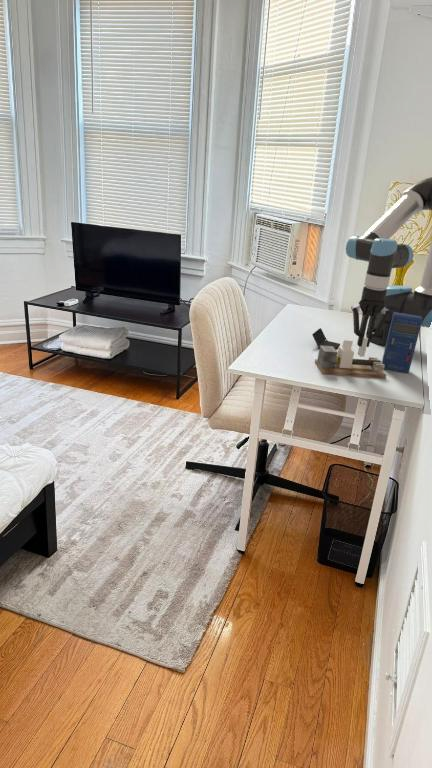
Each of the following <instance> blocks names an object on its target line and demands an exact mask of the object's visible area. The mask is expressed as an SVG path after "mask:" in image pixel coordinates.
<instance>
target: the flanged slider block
mask: <svg viewBox="0 0 432 768" xmlns="http://www.w3.org/2000/svg"><path fill="white" fill-rule="evenodd" d="M353 342H354V341H353V340H352V339H343V340H342V345H340V346H339V347H338V348H337V356H338V357H339V358H340V363H339V368H350V369H351V365H352V361H353V359H354V356H355V350H354V349H353V348H352V347H353Z"/></svg>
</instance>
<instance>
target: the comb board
mask: <svg viewBox="0 0 432 768" xmlns="http://www.w3.org/2000/svg"><path fill="white" fill-rule="evenodd" d="M337 353H338V350H337V349H336V350H335V349H334V347H333V346H320V348H319V349H318V355H317V358H316V359H314V364H315V365H316V366H317V368H318V370H319V371H320V373H322V375H331V376H332V375H333V376H348V377H362V378H375V379H376V378H377V379H386V378H387V374H386V373H385V369H384V366H385V365H384V364H383V363H382V360H380V359H379V358H378V357H374V356H373V357H372V356H368V359H362V358H360V359H359V358H353V361H352V365H351V369H350V368H339V363H340V358H339V357H338V356H337Z"/></svg>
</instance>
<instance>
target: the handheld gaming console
mask: <svg viewBox="0 0 432 768" xmlns="http://www.w3.org/2000/svg"><path fill="white" fill-rule="evenodd" d="M311 335H312V337H313V339H314V341H315V343H316V346H317V347H318V348H317V350H319V348H320V346H333V347H334V349H335V350H336V351H337V350H338V348H339V346H341V343H339V342H334V341H330V340H328V339H327V337H326V335H325V333H324V331H323V329H322V327H320V328H318V329H317V330H316V331H314V332H313V333H312V334H311Z"/></svg>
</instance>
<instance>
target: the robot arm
mask: <svg viewBox="0 0 432 768" xmlns="http://www.w3.org/2000/svg"><path fill="white" fill-rule="evenodd" d="M426 210H427V211H432V176H431V177H427V178H424V179H421V180H419V181H417V182H416V183H413V184H412V185H411V186H410V185H409V187H407V189H406V190H404V191H403V192H402V193H401V194H400V195H399V199H398V201H397V202H395V203H394V204H393V206H391V208H389V210H387V211H386V212H385V214H383V215H382V216H381V217H380V218H379V219H378V220H377V221H376V222H375V223H374V224H373V225H372V226H371V227H370V228H368V230H367V231H365V233H364V234H362V235H361V236H358V235H357V236H355V235H354V236H351V237H350V238H348V240H347V242H346V245H345V254H346V256H347V257H349V258H350V259H354V260H356V261H363V262H368V264H367V270H366V274H365V279H364V284H363V285H365V286H363V288H362V292H361V298H360V300H359V302H358V304H357V305H352V306H351V312H352V313H353V314H352V317H353V318H352V319H353V334H354V335H355V336H358V338H357V343H356V345H357V346H358V351H357V355H358V356H359V357H361V358H362V357H364V358H365V355H366V349H367V348H369V347H370V344H371V342H372V343H373V344H378V345H381V346H384V347H385V346H386V342H387V338H388V334H389V329H390V325H391V321H392V317H393V313H394V312H397V313H403V314H410V315H416V316H422V319H423V320H422V324H421V327H422V328H429V327H430V325H431V322H432V241H431V243H430V246H429V249H428V255H427V258H426V261H425V266H424V269H423V272H422V278H421V280H420V285H419V286H417V287H416V288H414V292H413V288H412V287H410V286H406V285H389V284H390V278H391V274H392V270H393V269H398V268H399V269H400V268H403V267H406V266H408V265H410V264H411V263H412V261H413V259H414V254H415V253H414V250H413V248H412V247H411V246H410V245H409V244H405V243H398V242H397V240H395V239H391V238H392V237H393V236H394V235H395V234H396V232H398V231H399V230H400V229H401V228H402V227H403V226H404V225H405V224H406V223H407V222H408V221H409V220H410V219H411V218H412V217H413V216H415V215H417V214H420V212H422V211H426ZM360 311H361V313H362V314H361V322H360V313H359V312H360ZM429 329H430V328H429Z"/></svg>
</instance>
